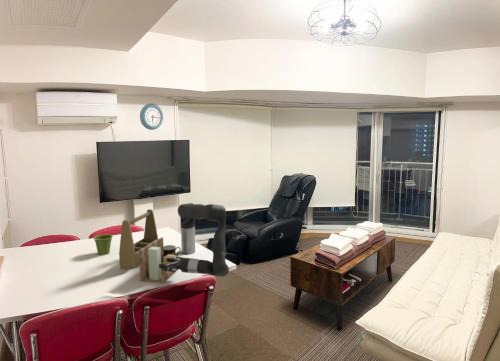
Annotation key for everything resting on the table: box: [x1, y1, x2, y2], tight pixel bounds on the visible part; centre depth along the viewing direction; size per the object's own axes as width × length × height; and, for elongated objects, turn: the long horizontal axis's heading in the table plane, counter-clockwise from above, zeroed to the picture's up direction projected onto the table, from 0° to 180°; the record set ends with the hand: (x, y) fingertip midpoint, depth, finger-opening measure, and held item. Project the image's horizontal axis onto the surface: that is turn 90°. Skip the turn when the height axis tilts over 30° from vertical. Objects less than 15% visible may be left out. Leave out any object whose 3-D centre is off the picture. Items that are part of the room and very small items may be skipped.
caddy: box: [118, 209, 159, 270], centre depth 202 cm, size 29×11×30 cm, turn 168°
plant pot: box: [93, 233, 114, 256], centre depth 216 cm, size 12×12×11 cm
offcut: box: [163, 254, 177, 263], centre depth 190 cm, size 5×6×3 cm
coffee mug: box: [163, 244, 182, 257], centre depth 200 cm, size 12×9×10 cm
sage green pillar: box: [148, 247, 162, 280], centre depth 175 cm, size 4×5×17 cm
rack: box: [139, 236, 180, 284], centre depth 181 cm, size 24×13×18 cm, turn 167°
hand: (163, 262), depth 173 cm, fingers open, 8 cm apart
